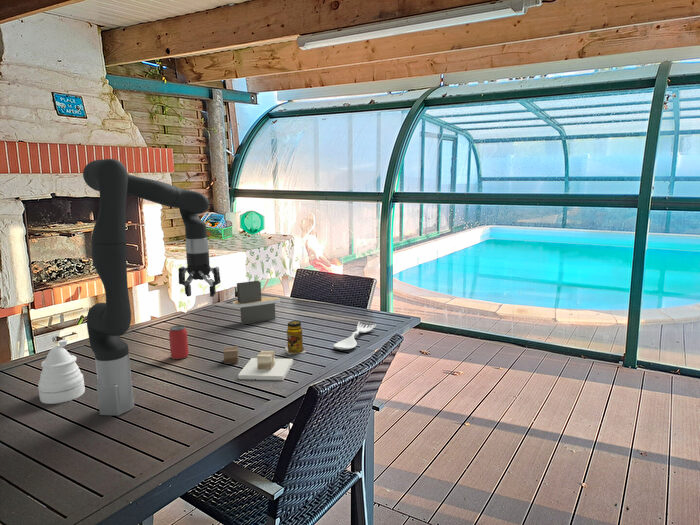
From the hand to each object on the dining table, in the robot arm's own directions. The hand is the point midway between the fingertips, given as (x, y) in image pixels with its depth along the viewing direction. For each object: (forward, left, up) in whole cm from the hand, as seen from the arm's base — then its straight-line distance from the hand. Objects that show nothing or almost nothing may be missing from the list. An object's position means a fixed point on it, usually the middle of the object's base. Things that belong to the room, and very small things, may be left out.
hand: (200, 296), depth 174 cm
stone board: (+2, -22, -28) cm, 36 cm away
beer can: (+13, +16, -28) cm, 35 cm away
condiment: (+23, -28, -28) cm, 46 cm away
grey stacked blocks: (+62, -1, -29) cm, 68 cm away
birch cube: (+2, -22, -27) cm, 35 cm away
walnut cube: (+10, -6, -28) cm, 31 cm away
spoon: (+37, -51, -29) cm, 69 cm away
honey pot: (-22, +40, -28) cm, 54 cm away
